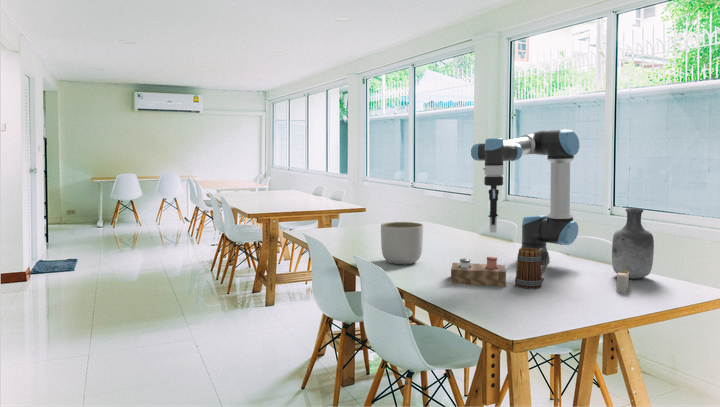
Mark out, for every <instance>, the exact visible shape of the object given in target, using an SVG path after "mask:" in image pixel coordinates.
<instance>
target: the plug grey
mask: <svg viewBox="0 0 720 407" xmlns="http://www.w3.org/2000/svg"><path fill="white" fill-rule="evenodd" d="M459 261H460V262H459V263H460V268H470V263H471V259H470V258H460V259H459Z"/></svg>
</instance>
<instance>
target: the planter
mask: <svg viewBox="0 0 720 407" xmlns="http://www.w3.org/2000/svg"><path fill="white" fill-rule="evenodd" d="M423 242H424V224H422V223H419V222H411V221H410V222H409V221H391V222H385V223H384V222H383V223H381V224H380V245H381V254H382V258H384V259H385V260H386V261H387V262H388V263H389V264H392V263H393V264H392V265H397V264H408V265H411V264H412V263H413V264H415V263H417V261H418V260H420V258H421V256H422V254H423ZM413 264H412V265H413Z"/></svg>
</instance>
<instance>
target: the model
mask: <svg viewBox="0 0 720 407" xmlns="http://www.w3.org/2000/svg"><path fill="white" fill-rule="evenodd" d="M629 279H630V278H629V272H628V270H623V269H622V273H618V274H617V273H616V290H615V291H617V292H616V293H622V292H624V293H623V294H626V293H627V291H628V288H629V284H630V283H629V282H630V280H629Z"/></svg>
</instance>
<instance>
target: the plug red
mask: <svg viewBox="0 0 720 407" xmlns="http://www.w3.org/2000/svg"><path fill="white" fill-rule="evenodd" d="M497 261H498V257H495V256H487V257H486V264H487V269H497V265H498V262H497Z"/></svg>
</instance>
